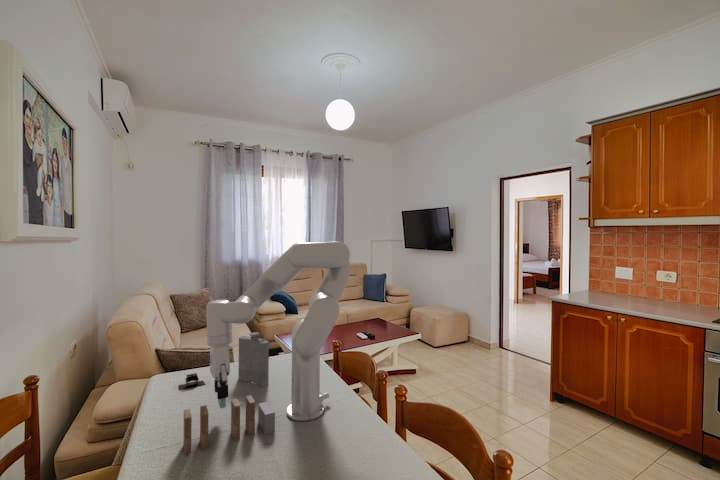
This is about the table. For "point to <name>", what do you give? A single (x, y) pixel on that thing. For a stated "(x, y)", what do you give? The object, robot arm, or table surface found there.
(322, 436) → the table surface
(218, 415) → the table surface
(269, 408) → the end block
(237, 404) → the domino
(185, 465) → the table surface
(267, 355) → the hip flask
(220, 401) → the domino
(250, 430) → the domino
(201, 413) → the domino
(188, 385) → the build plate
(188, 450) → the domino
